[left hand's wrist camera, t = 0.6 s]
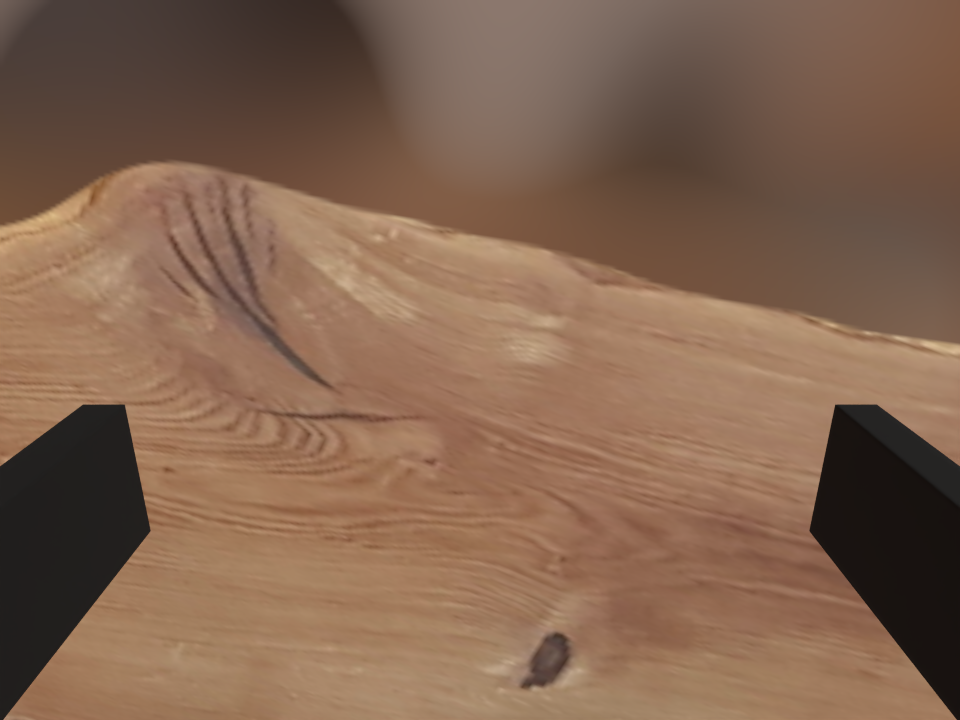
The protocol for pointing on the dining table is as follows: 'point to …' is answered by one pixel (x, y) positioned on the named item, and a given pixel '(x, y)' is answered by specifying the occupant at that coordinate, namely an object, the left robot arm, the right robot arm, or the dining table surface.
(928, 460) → the left robot arm
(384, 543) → the dining table surface
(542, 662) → the dining table surface
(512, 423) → the dining table surface
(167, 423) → the dining table surface
